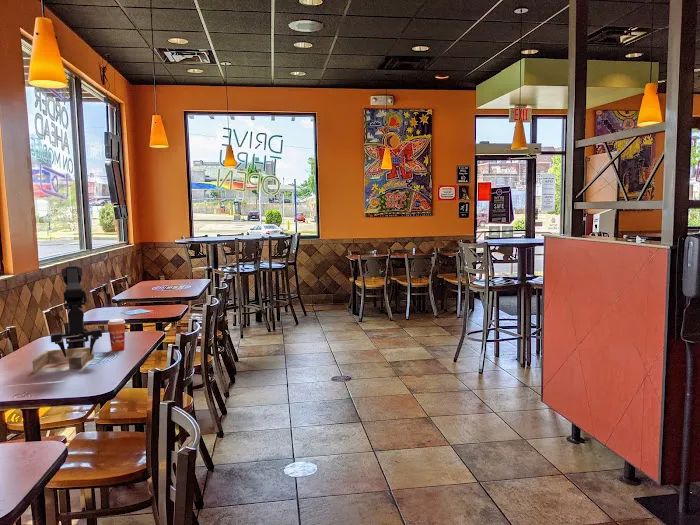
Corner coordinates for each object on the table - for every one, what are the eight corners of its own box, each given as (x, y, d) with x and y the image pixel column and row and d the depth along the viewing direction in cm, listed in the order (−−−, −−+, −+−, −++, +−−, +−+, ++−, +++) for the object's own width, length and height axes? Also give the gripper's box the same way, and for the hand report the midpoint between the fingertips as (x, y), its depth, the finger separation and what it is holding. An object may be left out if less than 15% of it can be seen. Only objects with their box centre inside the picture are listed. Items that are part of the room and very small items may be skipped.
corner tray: (94, 359, 232) (93, 347, 232) (84, 370, 216) (83, 357, 215) (47, 362, 228) (46, 350, 228) (33, 374, 212) (32, 360, 211)
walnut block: (87, 362, 226) (87, 351, 226) (81, 368, 217) (81, 357, 216) (76, 363, 225) (75, 352, 225) (69, 369, 216) (68, 358, 215)
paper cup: (109, 352, 244) (107, 322, 243) (108, 348, 251) (106, 319, 249) (128, 350, 247) (126, 320, 246) (126, 346, 254) (124, 317, 253)
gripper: (99, 312, 231) (101, 348, 232) (50, 317, 222) (52, 354, 223) (101, 317, 221) (103, 354, 222) (49, 322, 212) (52, 360, 214)
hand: (78, 355), depth 221 cm, fingers open, 9 cm apart
